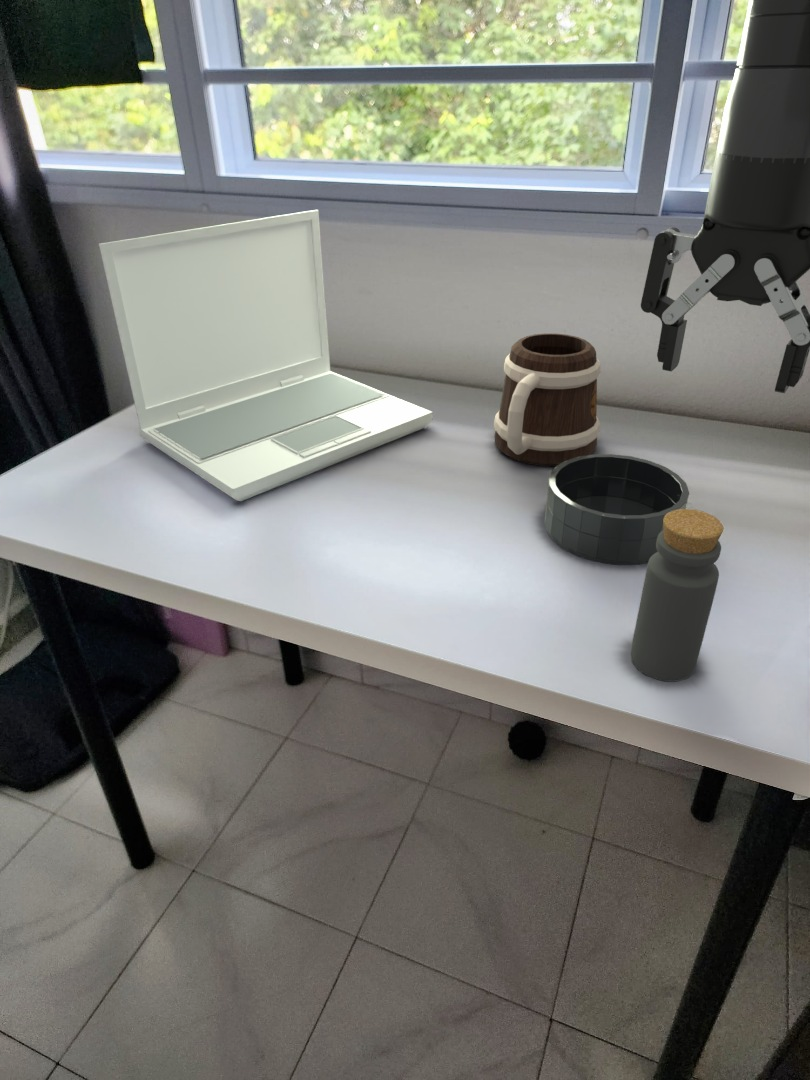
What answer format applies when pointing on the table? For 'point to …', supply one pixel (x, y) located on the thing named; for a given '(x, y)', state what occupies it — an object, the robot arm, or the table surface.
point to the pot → (611, 506)
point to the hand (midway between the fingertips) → (724, 378)
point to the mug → (549, 400)
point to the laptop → (242, 354)
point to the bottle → (677, 595)
